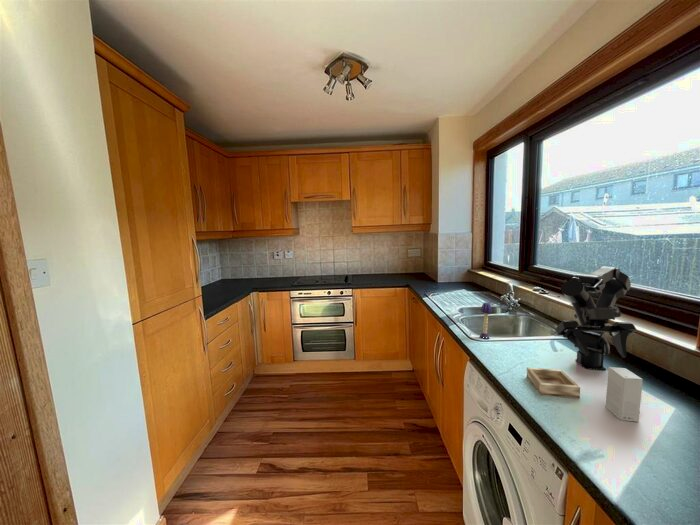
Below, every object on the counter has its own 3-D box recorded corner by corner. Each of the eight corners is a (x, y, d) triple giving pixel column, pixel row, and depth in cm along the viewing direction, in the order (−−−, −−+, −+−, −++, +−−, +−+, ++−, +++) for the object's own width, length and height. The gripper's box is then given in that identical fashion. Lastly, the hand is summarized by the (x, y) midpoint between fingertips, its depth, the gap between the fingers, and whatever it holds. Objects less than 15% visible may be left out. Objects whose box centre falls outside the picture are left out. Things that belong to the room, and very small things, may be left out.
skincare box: (639, 422, 71) (644, 379, 70) (620, 420, 72) (624, 378, 71) (621, 407, 77) (625, 367, 76) (604, 406, 78) (607, 366, 77)
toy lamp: (490, 336, 129) (491, 302, 127) (491, 340, 125) (492, 304, 123) (479, 335, 131) (480, 301, 129) (479, 338, 127) (480, 304, 125)
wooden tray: (561, 379, 92) (561, 369, 91) (579, 398, 82) (580, 387, 81) (526, 377, 94) (527, 367, 94) (540, 395, 84) (541, 384, 84)
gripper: (562, 295, 85) (581, 343, 76) (634, 296, 81) (664, 347, 72) (549, 312, 94) (564, 357, 85) (613, 314, 90) (637, 361, 81)
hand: (605, 356), depth 80 cm, fingers open, 9 cm apart
